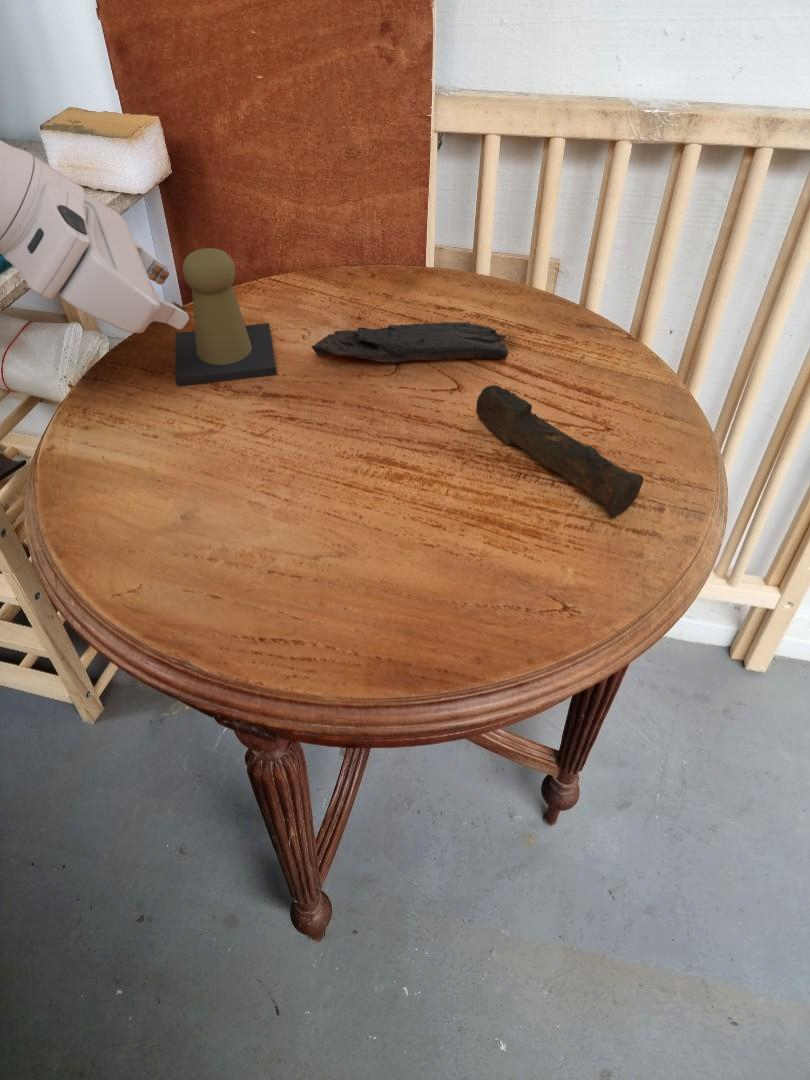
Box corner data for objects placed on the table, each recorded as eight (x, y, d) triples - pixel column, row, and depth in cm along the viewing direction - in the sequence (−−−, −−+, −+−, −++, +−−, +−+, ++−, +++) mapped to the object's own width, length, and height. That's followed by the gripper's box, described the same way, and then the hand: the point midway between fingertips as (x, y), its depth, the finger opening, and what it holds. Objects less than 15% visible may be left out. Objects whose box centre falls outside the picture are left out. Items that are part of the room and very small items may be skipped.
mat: (177, 386, 83) (175, 378, 82) (177, 340, 89) (175, 332, 88) (277, 374, 84) (275, 367, 83) (270, 330, 90) (269, 322, 89)
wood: (501, 325, 91) (503, 302, 89) (512, 361, 86) (515, 337, 84) (311, 335, 90) (309, 311, 87) (312, 372, 85) (310, 348, 82)
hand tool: (640, 505, 71) (652, 466, 67) (611, 524, 69) (622, 486, 65) (496, 406, 81) (500, 368, 77) (467, 421, 79) (470, 383, 75)
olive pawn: (188, 361, 84) (165, 266, 76) (207, 331, 88) (187, 238, 80) (242, 367, 83) (225, 271, 75) (258, 336, 87) (244, 242, 79)
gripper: (15, 202, 77) (139, 275, 87) (35, 301, 64) (178, 373, 74) (47, 148, 75) (170, 229, 85) (74, 239, 62) (216, 322, 72)
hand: (174, 297), depth 79 cm, fingers open, 8 cm apart
